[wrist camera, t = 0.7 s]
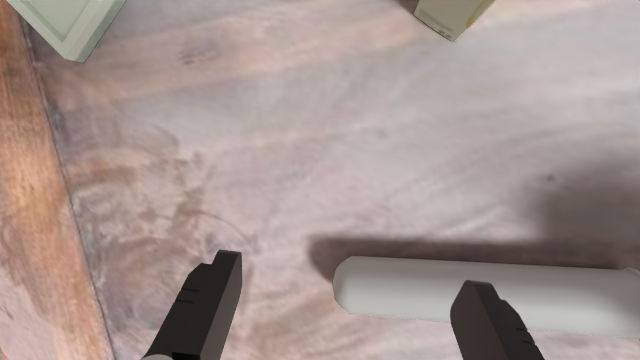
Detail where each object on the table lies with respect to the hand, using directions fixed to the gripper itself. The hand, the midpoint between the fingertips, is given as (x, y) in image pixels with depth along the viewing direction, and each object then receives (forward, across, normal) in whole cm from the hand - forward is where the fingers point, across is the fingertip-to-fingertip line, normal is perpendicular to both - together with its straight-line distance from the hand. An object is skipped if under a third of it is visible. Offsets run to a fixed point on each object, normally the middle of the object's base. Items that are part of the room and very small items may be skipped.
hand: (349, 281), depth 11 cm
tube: (+13, -14, +13) cm, 23 cm away
